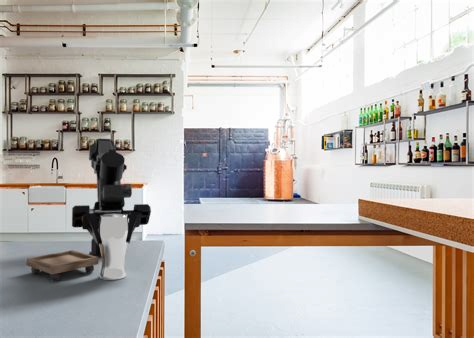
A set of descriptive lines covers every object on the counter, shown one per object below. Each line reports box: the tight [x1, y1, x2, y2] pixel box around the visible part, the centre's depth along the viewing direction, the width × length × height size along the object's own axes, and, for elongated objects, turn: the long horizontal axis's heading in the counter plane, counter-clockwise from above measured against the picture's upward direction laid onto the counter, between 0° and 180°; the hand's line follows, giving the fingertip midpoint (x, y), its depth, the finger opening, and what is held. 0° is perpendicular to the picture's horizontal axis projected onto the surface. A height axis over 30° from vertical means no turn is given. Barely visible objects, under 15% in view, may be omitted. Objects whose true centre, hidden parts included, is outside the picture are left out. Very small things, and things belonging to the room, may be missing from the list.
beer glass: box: [99, 214, 129, 281], centre depth 96 cm, size 7×7×15 cm
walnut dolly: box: [26, 249, 99, 282], centre depth 99 cm, size 12×12×4 cm
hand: (114, 243), depth 95 cm, fingers closed on beer glass, 7 cm apart
